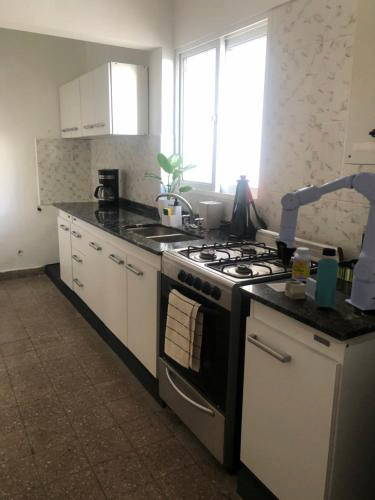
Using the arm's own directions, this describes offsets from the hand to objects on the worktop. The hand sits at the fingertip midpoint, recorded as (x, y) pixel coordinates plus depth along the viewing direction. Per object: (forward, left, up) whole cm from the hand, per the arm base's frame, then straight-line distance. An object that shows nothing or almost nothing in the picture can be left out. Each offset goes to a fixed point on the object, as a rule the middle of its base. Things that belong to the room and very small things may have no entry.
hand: (283, 262), depth 155 cm
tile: (+1, -1, -10) cm, 10 cm away
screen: (-11, -6, -10) cm, 16 cm away
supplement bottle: (+10, -14, -10) cm, 20 cm away
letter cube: (-9, 0, -10) cm, 14 cm away
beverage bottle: (-22, -4, -10) cm, 25 cm away
